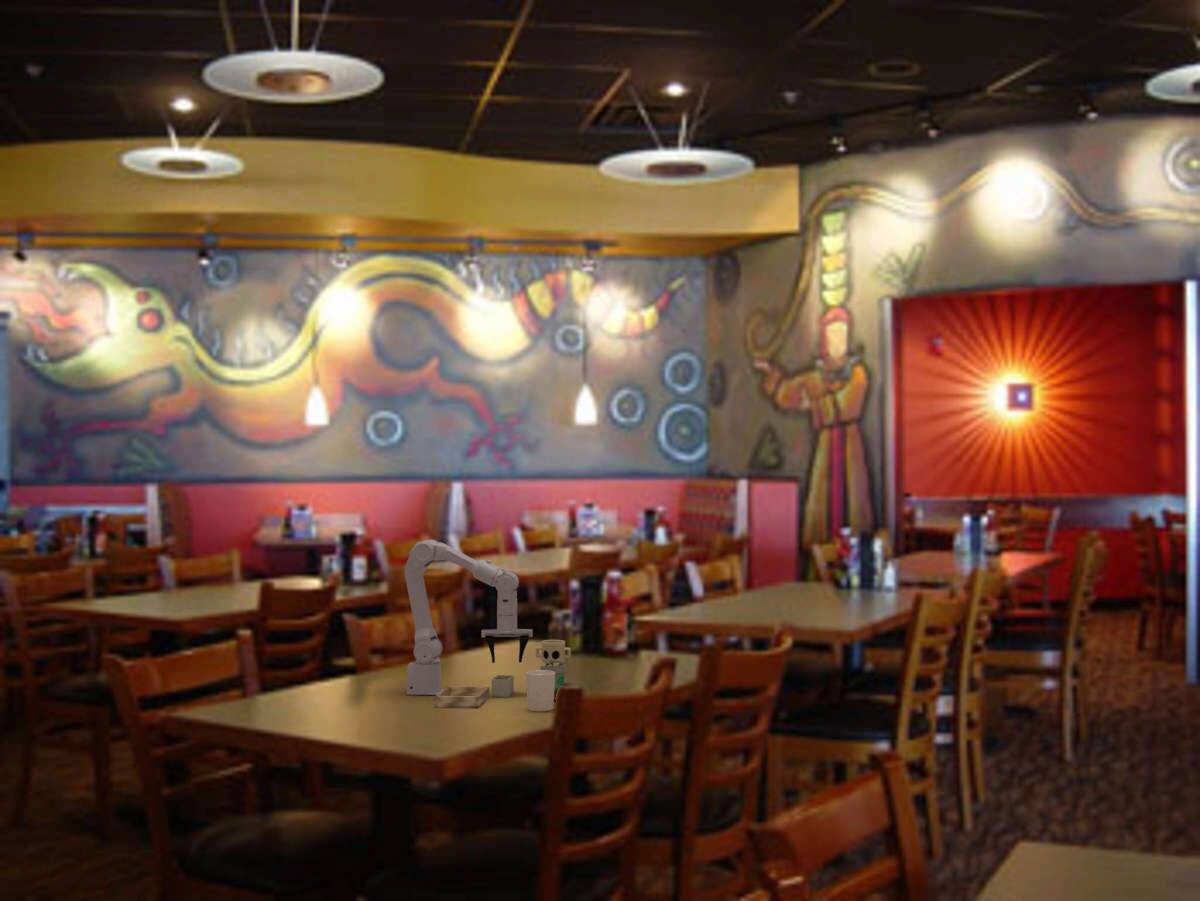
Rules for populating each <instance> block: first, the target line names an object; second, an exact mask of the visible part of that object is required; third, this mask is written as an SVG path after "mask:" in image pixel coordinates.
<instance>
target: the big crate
mask: <svg viewBox="0 0 1200 901" xmlns="http://www.w3.org/2000/svg"><path fill="white" fill-rule="evenodd" d="M443 689H444V690H443V691H441V692H440V693H439V694H438V695H434V696H435V697H434V699H435V700H434V702H435V704H434V706H435V708H446V707H447V709H448V708H449V709H451V708H453V709H454V708H457V709H479V708H481V707H482V706H483V705H484V704H485V703H486V702H487V701H488V700H489V699H490V687H489V686H484V687H483V686H447V687H445V688H443Z"/></svg>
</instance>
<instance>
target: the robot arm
mask: <svg viewBox="0 0 1200 901" xmlns="http://www.w3.org/2000/svg"><path fill="white" fill-rule="evenodd" d="M435 561H436V562H437V561H449V562H451V563H452V564H455V565H458V566H460V567H461V568H464V569H466V570H469V571H470V572H471V573H472V576H473V578H475V579H477V580H479V581H480V582H482V583H484V584H486V585H488V586H491V587H492V588H495V589H496V591H497V601H496V603H497V604H496V605H497V606H496V619H497V620H496V628H495V629H493V628H492V629H481V638H485V641H486V644H487V646H488V648H489V651H490V654H491V663H492V664H493V663H496V658H495V657H496V656H495V638H499V637H500V638H502V637H503V638H504V637H505V638H508V637H510V638H512V637H513V638H516V637H517V638H519V640H518V641H519V642H518V644H519V651H518V652H519V653H518V663H522V662H523V656H524V652H525V649H526V648H527V645H528V642H529V640H530V638H532V637H533V629H532V628H531V629H529V628H528V629H527V628H524V629H523V628H518V598H517V596H518V593H517V592H518V590H517V588H518V587H519V583H520V579H519V578H518V576H517V575H516V574H515V573H514V572H513V571H510V570H507V571H506V568H504V567H502V568H501V567H498V565H497V566H496V565H494V564H493V563H492V560H490V559H486V560H485V559H480V560H478V561H477V560H475V559H474V558H472V557H470V556H469V555H466V554H464V553H462V552H461V551H459V550H457V549H455V548H453V547H451V546H450V545H448V544H446V543H443V542H439V541H437V540H436V539H432V538H429V539H426V540H422V541H418V542H417V543H415V544H414V545H413V547H412V548H411V550H410V551H409V555H408V559H407V561H406V565H405V567H404V571H403V572H404V578H405V583H406V584H405V585H406V587H407V592H408V598H409V603H410V609H411V614H412V620H413V623H414V629H415V632H414V639H413V640H414V643H415V644H414V647H413V656H414V658H415V661H413V662H412V661H411V662H410V661H409V663H408V665H407V669H406V670H407V671H406V695H411V696H412V695H415V696H416V695H417V696H419V695H420V696H426V695H427V696H436V695H438V694H439V693H440V692H441V691H443V690H444V689H445V688H442V687H441V686H442V685H441V684H442V682H441V681H442V680H441V679H442V677H441V676H442V675H441V674H442V673H441V671H442V667H441V665H442V663H441V662H442V660H441V659H440V656H441V654H442V652H443V644H442V642H441V640H440V639H439V637H438V635H437V634H438V633H437V631H436V629H435V627H434V624H433V620H432V614H431V610H430V605H429V604H430V603H429V600H428V595H427V589H426V584H425V578H424V573H425V571H426V570H427V569H428V568H429V566H430V565H431V564H432V563H433V562H435Z"/></svg>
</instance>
